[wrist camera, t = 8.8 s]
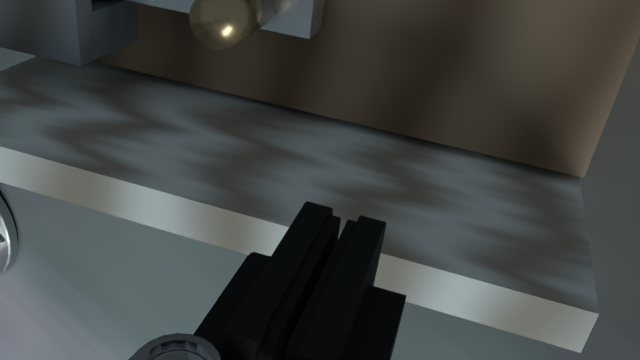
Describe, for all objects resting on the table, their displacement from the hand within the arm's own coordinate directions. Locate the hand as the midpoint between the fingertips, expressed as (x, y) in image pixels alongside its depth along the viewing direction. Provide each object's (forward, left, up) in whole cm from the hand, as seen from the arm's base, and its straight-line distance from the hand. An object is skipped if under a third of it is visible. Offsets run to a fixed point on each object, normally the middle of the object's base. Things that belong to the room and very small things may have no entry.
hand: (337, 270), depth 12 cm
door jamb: (-8, -1, -22) cm, 23 cm away
